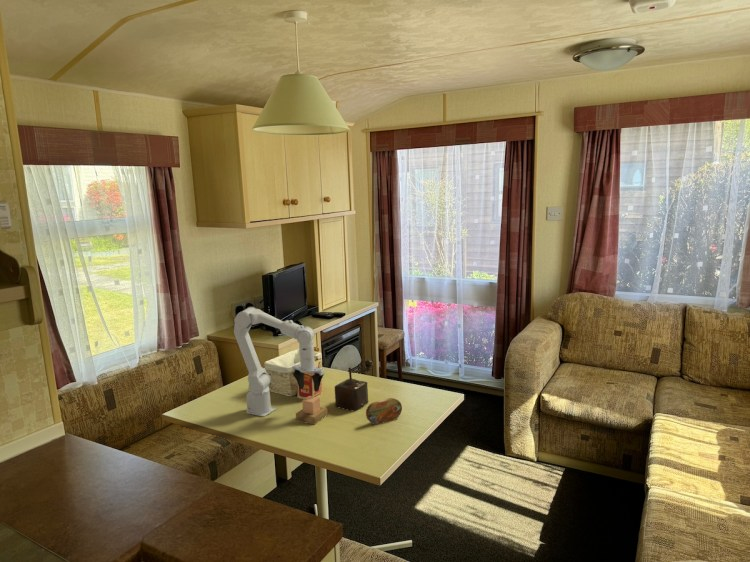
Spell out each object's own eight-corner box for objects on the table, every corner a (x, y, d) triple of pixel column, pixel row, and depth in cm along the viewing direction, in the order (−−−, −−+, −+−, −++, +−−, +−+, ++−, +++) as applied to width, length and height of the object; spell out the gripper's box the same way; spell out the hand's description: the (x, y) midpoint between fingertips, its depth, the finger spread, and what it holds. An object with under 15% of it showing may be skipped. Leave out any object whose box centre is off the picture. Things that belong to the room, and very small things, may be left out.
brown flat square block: (296, 420, 206) (295, 413, 205) (309, 411, 214) (308, 405, 213) (314, 424, 202) (314, 417, 201) (327, 415, 210) (327, 408, 209)
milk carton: (297, 397, 229) (294, 354, 226) (307, 390, 238) (304, 348, 234) (315, 400, 226) (312, 356, 222) (325, 392, 234) (322, 350, 231)
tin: (368, 426, 198) (367, 406, 196) (365, 423, 201) (364, 403, 199) (402, 417, 205) (402, 397, 203) (398, 414, 207) (398, 395, 206)
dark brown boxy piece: (356, 412, 212) (354, 370, 209) (334, 407, 217) (332, 366, 214) (376, 398, 224) (374, 359, 221) (355, 394, 230) (353, 355, 227)
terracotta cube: (303, 412, 206) (302, 400, 206) (310, 407, 211) (309, 395, 210) (313, 414, 204) (312, 402, 203) (320, 409, 208) (319, 397, 208)
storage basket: (290, 399, 229) (288, 367, 226) (264, 392, 238) (262, 361, 235) (325, 381, 248) (323, 352, 246) (300, 376, 257) (298, 347, 255)
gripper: (286, 358, 208) (288, 390, 211) (316, 362, 201) (318, 395, 204) (297, 353, 214) (299, 384, 217) (326, 357, 208) (328, 389, 210)
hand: (309, 389), depth 211 cm, fingers open, 7 cm apart
